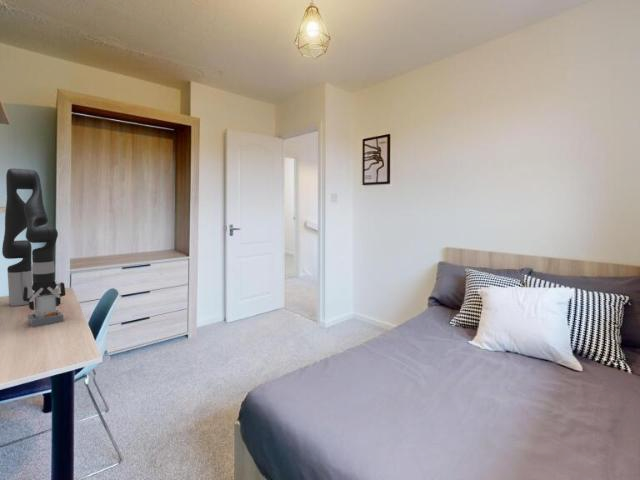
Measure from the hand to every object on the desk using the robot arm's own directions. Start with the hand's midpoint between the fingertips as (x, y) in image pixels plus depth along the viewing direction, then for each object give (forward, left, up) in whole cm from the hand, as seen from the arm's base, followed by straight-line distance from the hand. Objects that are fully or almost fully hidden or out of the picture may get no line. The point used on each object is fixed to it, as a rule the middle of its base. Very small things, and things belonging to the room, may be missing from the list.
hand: (45, 307), depth 143 cm
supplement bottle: (-29, +7, -6) cm, 30 cm away
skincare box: (0, 0, -6) cm, 6 cm away
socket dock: (0, 0, -6) cm, 6 cm away
